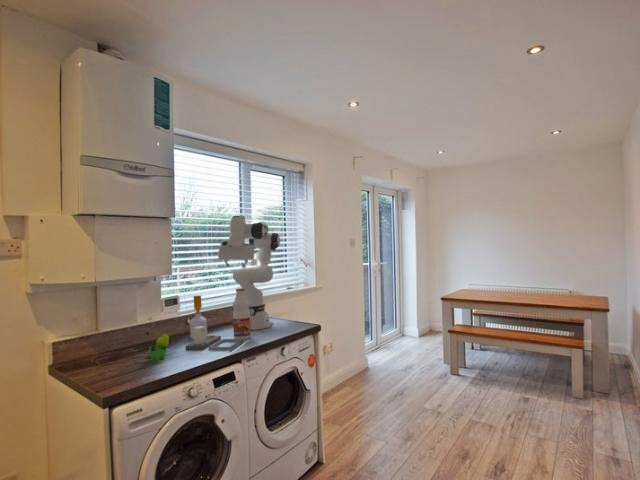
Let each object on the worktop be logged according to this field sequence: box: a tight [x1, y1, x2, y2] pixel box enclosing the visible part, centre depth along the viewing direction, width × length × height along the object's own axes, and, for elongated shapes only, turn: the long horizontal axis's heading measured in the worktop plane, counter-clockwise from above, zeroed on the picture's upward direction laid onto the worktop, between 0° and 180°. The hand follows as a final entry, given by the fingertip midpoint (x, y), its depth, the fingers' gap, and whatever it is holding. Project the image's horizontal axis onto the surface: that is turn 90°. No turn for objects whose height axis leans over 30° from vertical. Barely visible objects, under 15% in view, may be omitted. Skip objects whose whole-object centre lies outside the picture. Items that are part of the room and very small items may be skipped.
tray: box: [207, 338, 244, 353], centre depth 187 cm, size 16×12×2 cm
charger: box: [193, 326, 206, 344], centre depth 188 cm, size 4×4×10 cm
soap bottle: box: [189, 295, 208, 340], centre depth 210 cm, size 9×9×25 cm
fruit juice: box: [232, 287, 252, 341], centre depth 204 cm, size 9×9×28 cm
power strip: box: [185, 334, 222, 351], centre depth 192 cm, size 20×9×4 cm, turn 169°
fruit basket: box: [148, 333, 170, 363], centre depth 175 cm, size 11×9×11 cm
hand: (235, 267), depth 207 cm, fingers open, 8 cm apart
